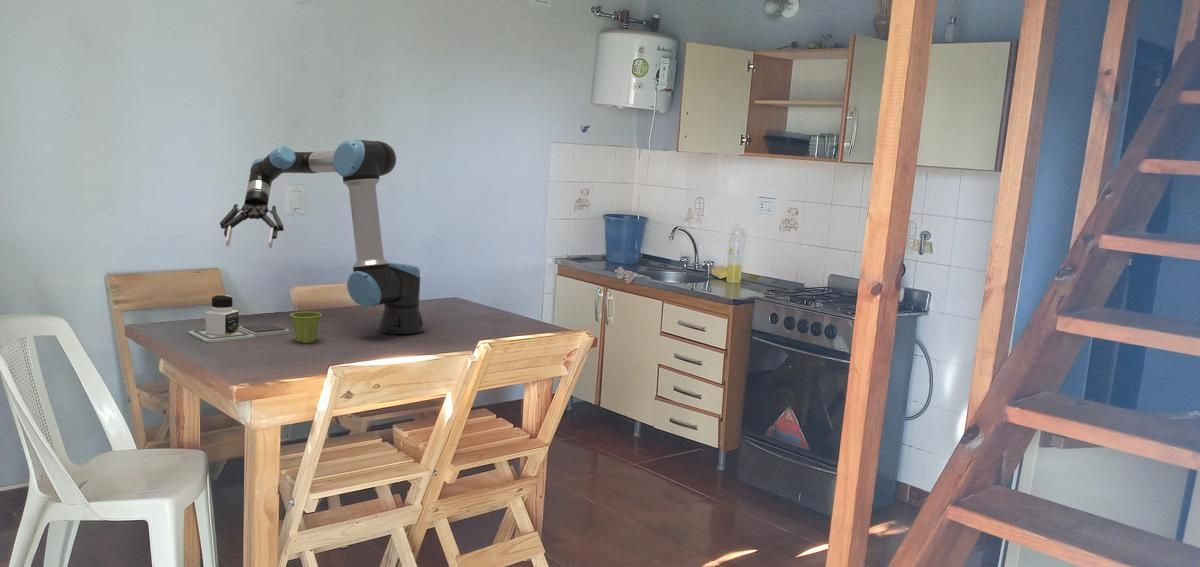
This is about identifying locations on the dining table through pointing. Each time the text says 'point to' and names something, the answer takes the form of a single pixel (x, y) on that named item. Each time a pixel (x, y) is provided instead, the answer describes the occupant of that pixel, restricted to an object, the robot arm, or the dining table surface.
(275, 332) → the ink pad
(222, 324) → the medicine bottle
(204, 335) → the print board
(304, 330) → the plant pot
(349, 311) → the dining table surface
